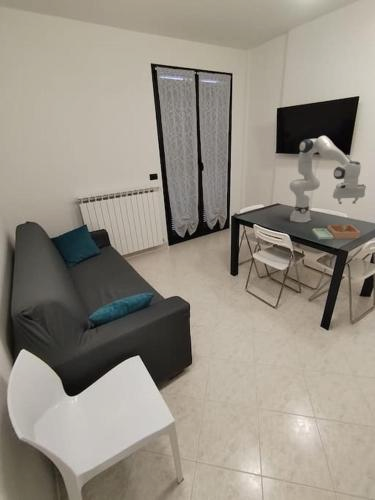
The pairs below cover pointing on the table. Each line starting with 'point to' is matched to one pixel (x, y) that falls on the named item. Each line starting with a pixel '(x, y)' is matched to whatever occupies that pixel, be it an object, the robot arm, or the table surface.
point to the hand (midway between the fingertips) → (346, 203)
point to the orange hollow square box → (350, 232)
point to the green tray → (323, 233)
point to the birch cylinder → (343, 228)
